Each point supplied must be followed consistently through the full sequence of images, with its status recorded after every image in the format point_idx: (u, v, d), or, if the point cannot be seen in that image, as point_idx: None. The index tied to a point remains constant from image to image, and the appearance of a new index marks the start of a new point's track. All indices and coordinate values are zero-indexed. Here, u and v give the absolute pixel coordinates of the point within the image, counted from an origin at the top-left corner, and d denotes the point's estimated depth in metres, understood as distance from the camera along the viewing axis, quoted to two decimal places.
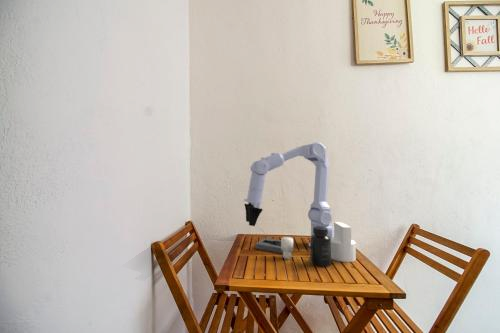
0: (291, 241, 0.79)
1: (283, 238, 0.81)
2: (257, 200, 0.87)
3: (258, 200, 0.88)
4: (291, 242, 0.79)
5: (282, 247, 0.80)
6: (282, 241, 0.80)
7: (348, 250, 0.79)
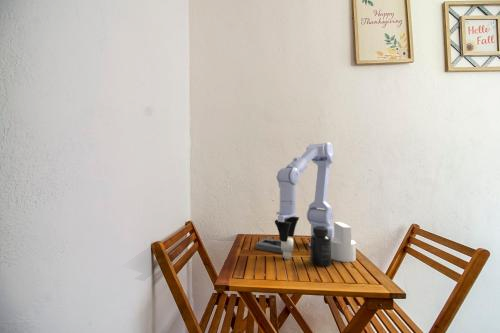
0: (291, 241, 0.79)
1: None
2: (287, 213, 0.79)
3: (288, 213, 0.79)
4: (291, 242, 0.79)
5: (282, 247, 0.80)
6: (282, 241, 0.80)
7: (348, 250, 0.79)
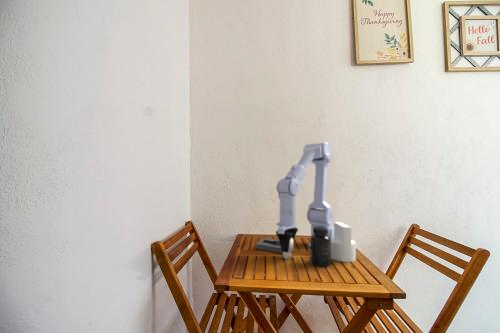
0: (291, 241, 0.79)
1: None
2: (287, 224, 0.79)
3: (288, 224, 0.79)
4: (291, 242, 0.79)
5: None
6: None
7: (348, 250, 0.79)
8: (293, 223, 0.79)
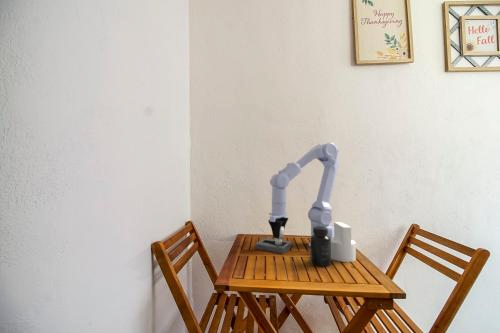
0: (281, 229, 0.90)
1: None
2: (278, 213, 0.89)
3: (279, 214, 0.89)
4: (281, 230, 0.90)
5: None
6: None
7: (348, 250, 0.79)
8: (283, 213, 0.90)
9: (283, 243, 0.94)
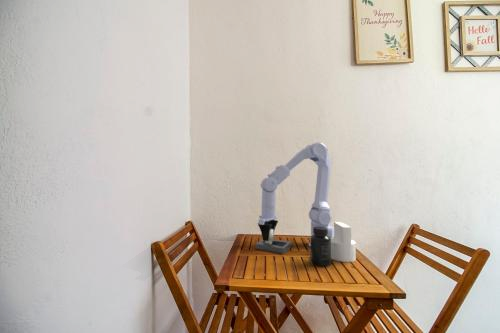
0: (271, 231, 0.92)
1: None
2: (267, 216, 0.91)
3: (268, 217, 0.91)
4: (271, 232, 0.92)
5: None
6: None
7: (348, 250, 0.79)
8: (273, 216, 0.92)
9: (283, 243, 0.94)
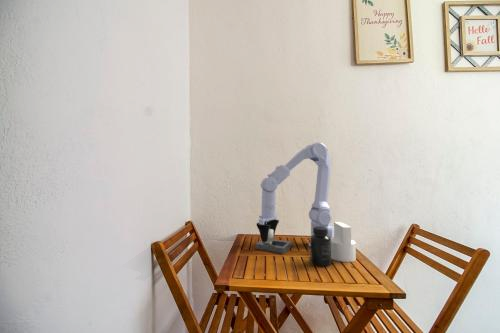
0: (271, 232, 0.92)
1: None
2: (267, 216, 0.91)
3: (268, 217, 0.91)
4: (271, 233, 0.92)
5: None
6: None
7: (348, 250, 0.79)
8: (273, 216, 0.92)
9: (283, 243, 0.94)
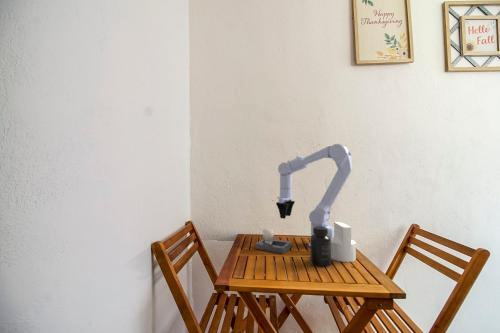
0: (271, 232, 0.92)
1: (265, 229, 0.94)
2: (285, 197, 1.04)
3: (286, 197, 1.04)
4: (271, 232, 0.92)
5: (263, 237, 0.93)
6: (263, 232, 0.93)
7: (348, 250, 0.79)
8: (290, 196, 1.04)
9: (283, 243, 0.94)
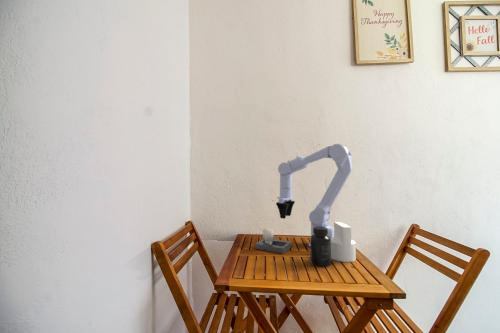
0: (271, 232, 0.92)
1: (265, 229, 0.94)
2: (285, 197, 1.04)
3: (286, 197, 1.04)
4: (271, 233, 0.92)
5: (263, 237, 0.93)
6: (263, 232, 0.93)
7: (348, 250, 0.79)
8: (290, 196, 1.04)
9: (283, 243, 0.94)
